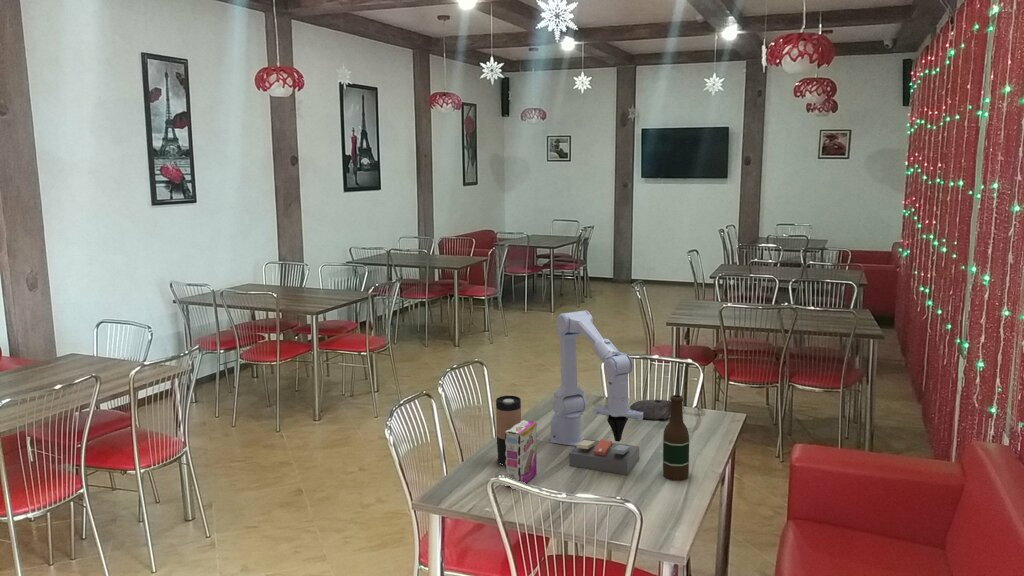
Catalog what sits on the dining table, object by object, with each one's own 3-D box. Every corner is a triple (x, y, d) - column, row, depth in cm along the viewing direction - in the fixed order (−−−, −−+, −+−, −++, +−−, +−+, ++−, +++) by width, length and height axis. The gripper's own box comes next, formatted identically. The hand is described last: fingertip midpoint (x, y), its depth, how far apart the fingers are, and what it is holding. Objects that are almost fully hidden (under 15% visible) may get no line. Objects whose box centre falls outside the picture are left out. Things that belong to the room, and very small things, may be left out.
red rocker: (593, 453, 226) (593, 450, 226) (600, 442, 232) (600, 439, 232) (605, 455, 224) (604, 452, 224) (612, 444, 230) (612, 440, 230)
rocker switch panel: (569, 465, 228) (569, 452, 228) (583, 450, 240) (583, 437, 239) (627, 475, 221) (627, 461, 220) (639, 458, 232) (639, 445, 232)
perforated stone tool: (628, 419, 268) (628, 400, 266) (630, 414, 273) (630, 396, 271) (671, 422, 263) (672, 403, 262) (672, 417, 268) (673, 398, 267)
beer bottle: (683, 483, 215) (685, 402, 211) (657, 477, 219) (658, 397, 215) (693, 473, 221) (694, 394, 217) (667, 468, 225) (668, 390, 221)
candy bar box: (520, 489, 213) (519, 434, 210) (505, 486, 215) (503, 431, 212) (538, 474, 222) (537, 421, 220) (522, 471, 225) (521, 419, 222)
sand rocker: (576, 447, 228) (576, 443, 228) (584, 443, 235) (584, 439, 235) (587, 449, 227) (587, 445, 227) (595, 444, 233) (595, 441, 233)
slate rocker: (611, 452, 224) (611, 449, 224) (618, 448, 230) (618, 444, 230) (623, 454, 222) (623, 450, 222) (629, 449, 228) (630, 446, 228)
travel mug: (509, 455, 238) (508, 393, 234) (527, 461, 232) (526, 398, 229) (492, 462, 232) (490, 399, 229) (509, 468, 227) (508, 405, 224)
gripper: (589, 397, 220) (590, 441, 222) (638, 402, 214) (638, 448, 216) (597, 390, 226) (597, 433, 228) (645, 395, 220) (644, 440, 222)
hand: (618, 440), depth 223 cm, fingers closed
